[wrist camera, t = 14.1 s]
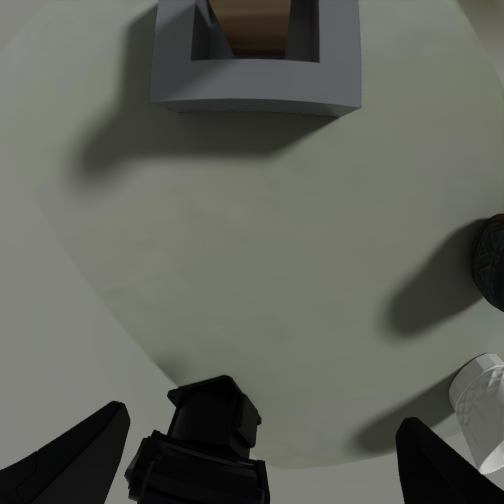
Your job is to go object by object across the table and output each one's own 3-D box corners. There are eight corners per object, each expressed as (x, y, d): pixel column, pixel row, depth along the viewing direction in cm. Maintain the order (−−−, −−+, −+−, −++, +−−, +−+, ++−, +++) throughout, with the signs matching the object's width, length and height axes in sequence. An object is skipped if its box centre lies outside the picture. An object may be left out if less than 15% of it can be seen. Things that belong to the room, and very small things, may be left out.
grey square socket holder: (339, 117, 17) (361, 107, 12) (178, 112, 17) (149, 102, 13) (337, -15, 14) (352, -50, 9) (188, -17, 14) (168, -51, 10)
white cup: (500, 382, 23) (539, 440, 14) (444, 416, 25) (475, 484, 15) (503, 333, 21) (558, 395, 12) (440, 373, 23) (483, 452, 13)
